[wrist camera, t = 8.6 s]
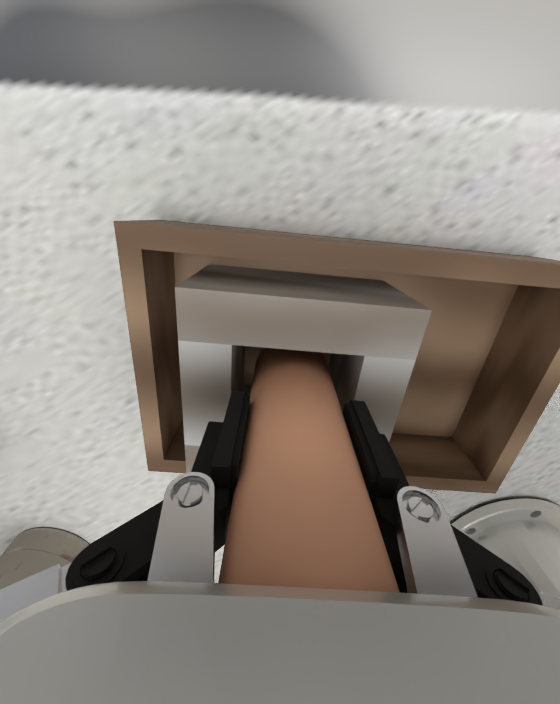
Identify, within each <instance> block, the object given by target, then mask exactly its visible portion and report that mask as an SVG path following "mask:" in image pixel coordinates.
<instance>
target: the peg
mask: <svg viewBox="0 0 560 704" xmlns="http://www.w3.org/2000/svg"><path fill="white" fill-rule="evenodd" d="M218 583H219V584H241V585H263V586H284V587H304V588H323V589H342V590H361V591H380V592H397V593H400V591H399V588H398V585H397V582H396V579H395V576H394V572H393V569H392V566H391V563H390V560H389V557H388V554H387V550H386V547H385V544H384V541H383V538H382V535H381V532H380V529H379V525H378V522H377V519H376V516H375V513H374V510H373V507H372V504H371V500H370V497H369V494H368V491H367V488H366V485H365V482H364V479H363V475H362V472H361V469H360V466H359V463H358V460H357V457H356V453H355V450H354V447H353V444H352V441H351V438H350V435H349V432H348V428H347V425H346V422H345V419H344V416H343V413H342V410H341V407H340V403H339V400H338V397H337V394H336V391H335V388H334V385H333V381H332V378H331V375H330V372H329V369H328V366H327V363H326V360H325V357H324V355H323V353H322V352H311V351H299V350H287V349H275V348H264V349H263V350H262V351H261V353H260V354H259V356H258V358H257V360H256V364H255V369H254V375H253V381H252V387H251V393H250V407H249V413H248V420H247V426H246V432H245V438H244V444H243V451H242V457H241V463H240V469H239V475H238V482H237V486H236V488H235V491H234V494H233V499H232V505H231V511H230V517H229V523H228V529H227V535H226V541H225V547H224V553H223V559H222V565H221V570H220V576H219V582H218Z"/></svg>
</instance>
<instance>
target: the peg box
mask: <svg viewBox="0 0 560 704" xmlns="http://www.w3.org/2000/svg"><path fill="white" fill-rule="evenodd" d="M114 227H115V234H116V241H117V248H118V256H119V263H120V270H121V277H122V284H123V292H124V299H125V306H126V313H127V321H128V328H129V335H130V342H131V349H132V357H133V364H134V371H135V378H136V385H137V393H138V400H139V407H140V414H141V421H142V429H143V436H144V443H145V450H146V458H147V465H148V471H159V472H174V473H189V472H191V470H192V467H193V465H194V462H195V459H196V456H197V453H198V450H199V447H200V445H201V442H202V439H203V436H204V433H205V430H206V427H207V425H208V422H209V421H214V422H223V421H224V418H225V414H226V410H227V407H228V403H229V400H230V396H231V392H232V391H241V392H245V395H248V396H250V393H251V387H252V381H253V375H254V369H255V364H256V360H257V358H258V356H259V354H260V353H261V351H262V350H263V349H264V348H275V349H287V350H299V351H311V352H322V353H323V355H324V357H325V360H326V363H327V366H328V369H329V372H330V375H331V378H332V381H333V385H334V388H335V391H336V394H337V397H338V400H339V403H340V407H341V410H342V413H343V409H344V405H345V403H349V402H350V400H358V401H365V403H366V405H367V407H368V409H369V412H370V414H371V416H372V418H373V420H374V423H375V425H376V427H377V429H378V431H379V433H380V434H384V435H385V436H386V438H387V440H388V442H389V444H390V446H391V448H392V450H393V452H394V454H395V456H396V458H397V460H398V462H399V465H400V467H401V469H402V471H403V473H404V475H405V477H406V479H407V481H408V483H409V485H410V486H414V487H418V488H421V489H435V490H451V491H466V492H482V493H496V492H497V490H498V488H499V486H500V485H501V483H502V481H503V480H504V478H505V476H506V474H507V473H508V471H509V469H510V467H511V466H512V464H513V462H514V461H515V459H516V457H517V455H518V454H519V452H520V450H521V449H522V447H523V445H524V443H525V442H526V440H527V438H528V436H529V435H530V433H531V431H532V430H533V428H534V426H535V424H536V423H537V421H538V419H539V418H540V416H541V414H542V412H543V411H544V409H545V407H546V405H547V404H548V402H549V400H550V399H551V397H552V395H553V393H554V392H555V390H556V388H557V387H558V385H559V383H560V261H557V260H551V259H544V258H538V257H530V256H520V255H510V254H500V253H490V252H480V251H469V250H459V249H449V248H439V247H429V246H419V245H408V244H398V243H388V242H378V241H368V240H358V239H347V238H337V237H327V236H317V235H307V234H297V233H287V232H276V231H266V230H256V229H246V228H236V227H226V226H215V225H205V224H195V223H185V222H175V221H165V220H139V221H114Z"/></svg>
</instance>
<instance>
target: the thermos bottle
mask: <svg viewBox="0 0 560 704" xmlns="http://www.w3.org/2000/svg"><path fill="white" fill-rule="evenodd" d="M87 546H89V544H88V543H87V542H86V541H84V540H83V539H82V538H80V537H78V536H76V535H74V534H72V533H69V532H66V531H63V530H59V529H53V528H33V529H30V530H26V531H24V532H22V533H21V534H19V535H18V536H17V537H16V538H15V539H14V541H13V542H12V543H11V544H10V546H9V547H8V548H7V549H6V550H5V552H4V553H3V554H2V555H1V556H0V589H2V588H5V587H7V586H9V585H11V584H14V583H16V582H18V581H21V580H23V579H25V578H27V577H30V576H32V575H34V574H37V573H39V572H41V571H43V570H46V569H48V568H50V567H52V566H55V565H57V564H59V565H60V567H63V566H65V565H67V564H69V563H72V561H73V560H74V558H75V557H76V556H77V555H78V554H79V553H80V552H81V551H82V550H83V549H84V548H86V547H87Z"/></svg>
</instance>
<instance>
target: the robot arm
mask: <svg viewBox="0 0 560 704" xmlns="http://www.w3.org/2000/svg"><path fill="white" fill-rule="evenodd" d="M249 407H250V396H248V395H245V392H241V391H232V392H231V396H230V400H229V403H228V407H227V410H226V414H225V418H224V421H223V422H214V421H209V422H208V425H207V427H206V430H205V433H204V436H203V439H202V442H201V445H200V447H199V450H198V453H197V456H196V459H195V462H194V465H193V467H192V470H191V472H189V473H185V474H182V475H180V476H178V477H177V478H175V479H174V480H173V481H172V482H171V483H170V484H169V485H168V487H167V489H166V492H165V495H164V500H163V501H161V502H160V503H158V504H156V505H155V506H153V507H151V508H150V509H148V510H146V511H145V512H143V513H141V514H140V515H138V516H136V517H135V518H133V519H131V520H130V521H128V522H126V523H125V524H123V525H121V526H120V527H118V528H116V529H115V530H113V531H111V532H110V533H108V534H106V535H105V536H103V537H101V538H100V539H98V540H96V541H95V542H93V543H91V544H90V545H89V546H87V547H86V548H84V549H83V550H82V551H81V552H80V553H79V554H78V555H77V556H76V557H75V558H74V560H73V561H72V563H69V564H67V565H65V566H63V567H60V565H59V564H57V565H55V566H52V567H50V568H48V569H46V570H43V571H41V572H39V573H37V574H34V575H32V576H30V577H27V578H25V579H23V580H21V581H18V582H16V583H14V584H11V585H9V586H7V587H5V588H2V589H0V704H560V506H558V505H556V504H554V503H551V502H548V501H544V500H539V499H529V498H521V499H509V500H503V501H498V502H494V503H491V504H487V505H484V506H482V507H479V508H477V509H474V510H472V511H471V512H469V513H467V514H465V515H463V516H462V517H460V518H459V519H458V520H456V521H455V522H453V523H452V524H450V522H449V519H448V516H447V514H446V511H445V509H444V507H443V505H442V504H441V503H440V501H439V500H438V499H437V498H436V497H435V496H433V495H432V494H431V493H429V492H427V491H426V490H424V489H421V488H418V487H414V486H410V485H409V483H408V481H407V479H406V477H405V475H404V473H403V471H402V469H401V467H400V465H399V462H398V460H397V458H396V456H395V454H394V452H393V450H392V448H391V446H390V444H389V442H388V440H387V438H386V436H385V435H384V434H380V433H379V431H378V429H377V427H376V425H375V423H374V420H373V418H372V416H371V414H370V412H369V409H368V407H367V405H366V403H365V401H358V400H350V402H349V403H345V405H344V409H343V416H344V419H345V422H346V425H347V428H348V432H349V435H350V438H351V441H352V444H353V447H354V450H355V453H356V457H357V460H358V463H359V466H360V469H361V472H362V475H363V479H364V482H365V485H366V488H367V491H368V494H369V497H370V500H371V504H372V507H373V510H374V513H375V516H376V519H377V522H378V525H379V529H380V532H381V535H382V538H383V541H384V544H385V547H386V550H387V554H388V557H389V560H390V563H391V566H392V569H393V572H394V576H395V579H396V582H397V585H398V588H399V591H400V593H397V592H380V591H361V590H342V589H323V588H304V587H284V586H263V585H241V584H219V583H214V573H215V552H216V551H217V550H218V549H220V548H221V547H222V546H223V545H224V544H225V541H226V535H227V529H228V523H229V517H230V511H231V505H232V499H233V494H234V491H235V488H236V486H237V482H238V475H239V469H240V463H241V457H242V451H243V444H244V438H245V432H246V426H247V420H248V413H249Z"/></svg>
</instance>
